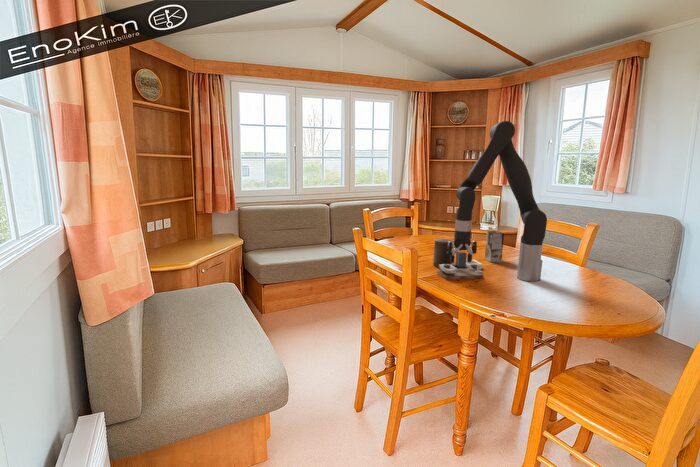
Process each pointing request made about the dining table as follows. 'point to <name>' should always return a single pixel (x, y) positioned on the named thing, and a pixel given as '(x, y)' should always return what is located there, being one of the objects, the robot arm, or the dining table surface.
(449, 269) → the grey slotted fixture
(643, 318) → the dining table surface
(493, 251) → the coffee box
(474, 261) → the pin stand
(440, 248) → the pillar candle
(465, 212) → the robot arm
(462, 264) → the steel pin
